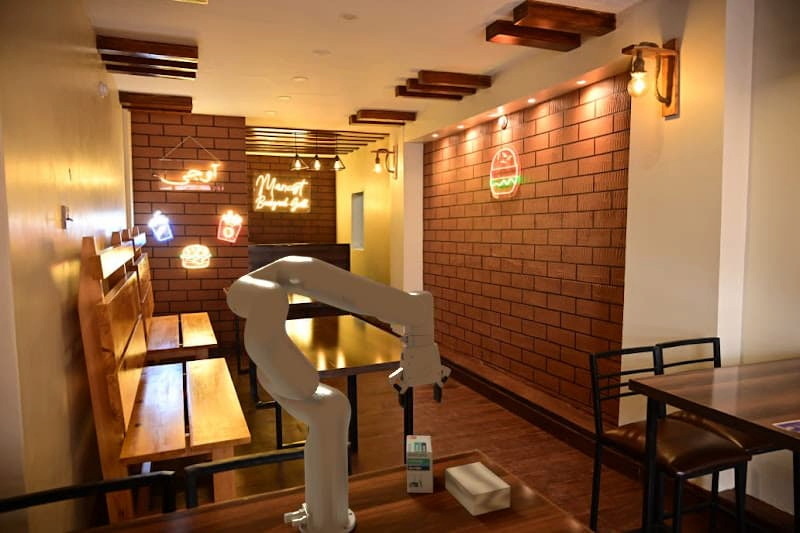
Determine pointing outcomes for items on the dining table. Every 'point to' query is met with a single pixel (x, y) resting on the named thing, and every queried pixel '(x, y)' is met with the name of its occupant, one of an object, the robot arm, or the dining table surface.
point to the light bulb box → (419, 464)
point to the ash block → (477, 488)
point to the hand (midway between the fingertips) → (420, 404)
